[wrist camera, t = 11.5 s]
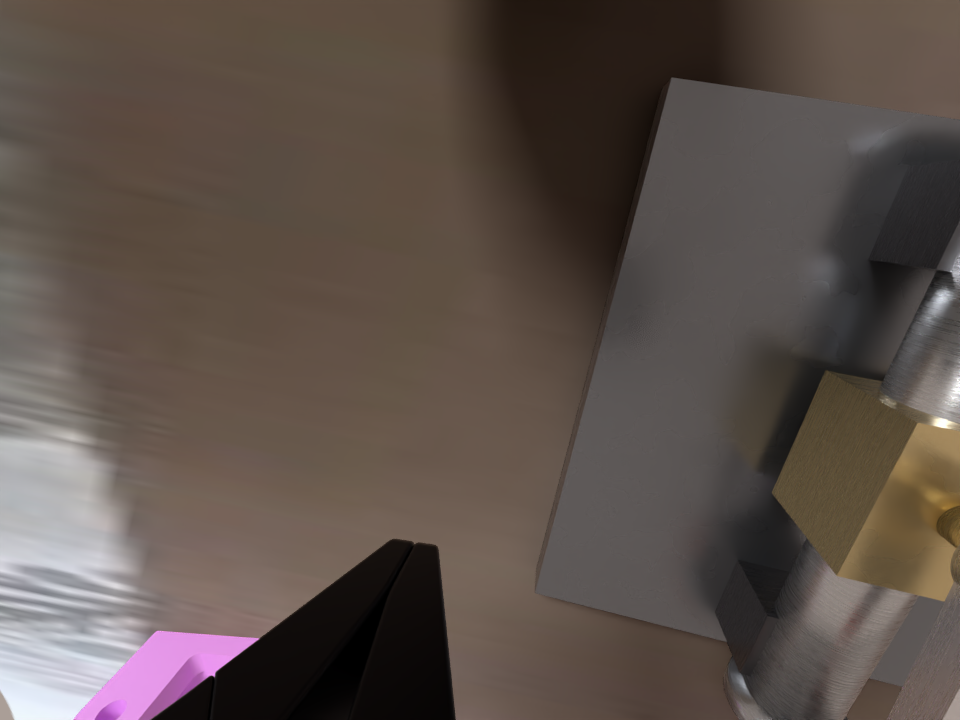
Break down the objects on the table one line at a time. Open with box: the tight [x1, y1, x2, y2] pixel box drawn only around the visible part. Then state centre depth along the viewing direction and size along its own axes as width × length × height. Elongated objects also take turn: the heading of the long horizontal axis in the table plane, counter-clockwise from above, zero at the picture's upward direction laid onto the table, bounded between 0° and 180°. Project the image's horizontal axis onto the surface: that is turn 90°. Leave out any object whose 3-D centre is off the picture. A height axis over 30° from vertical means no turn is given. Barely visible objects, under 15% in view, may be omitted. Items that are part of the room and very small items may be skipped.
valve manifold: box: [535, 77, 960, 720], centre depth 15 cm, size 22×20×8 cm
